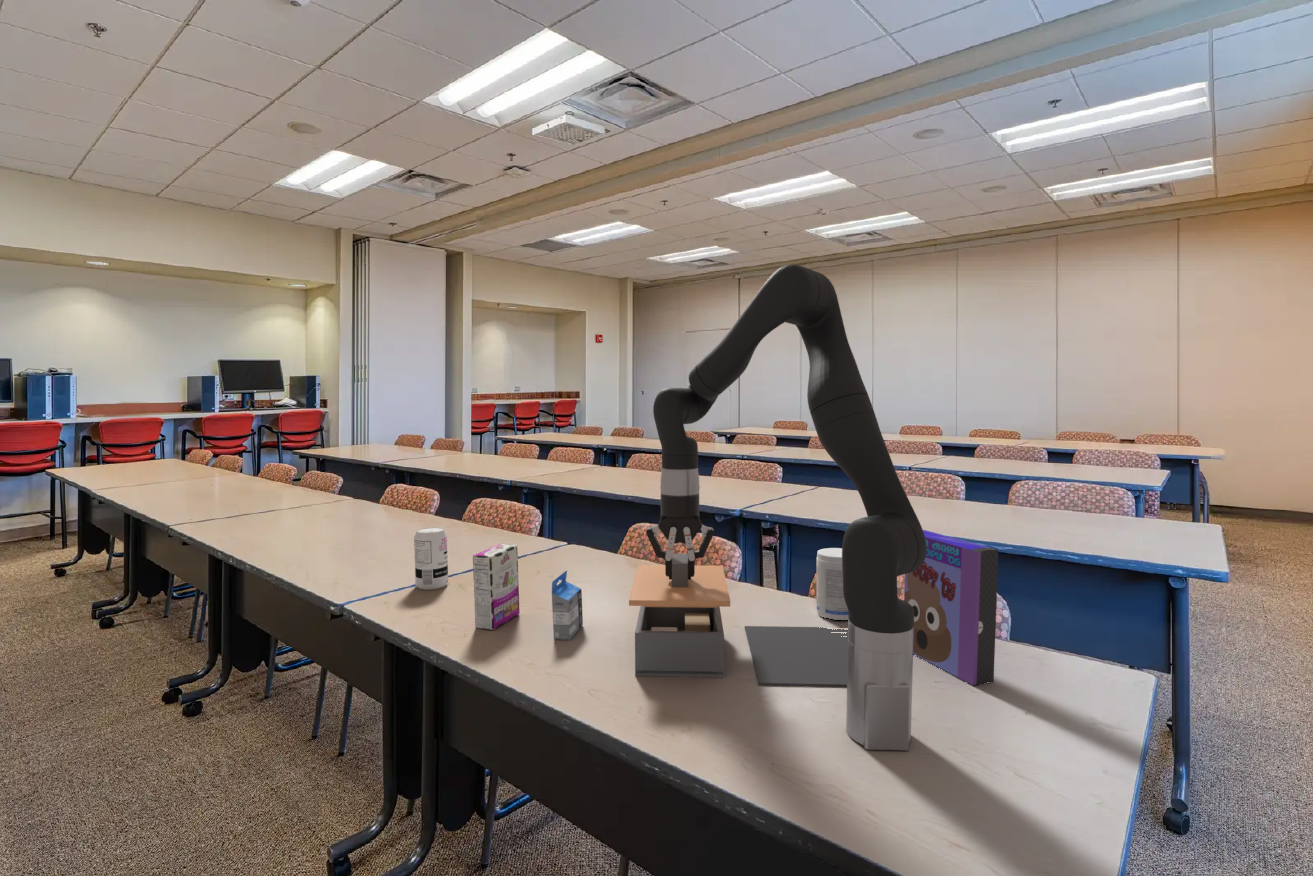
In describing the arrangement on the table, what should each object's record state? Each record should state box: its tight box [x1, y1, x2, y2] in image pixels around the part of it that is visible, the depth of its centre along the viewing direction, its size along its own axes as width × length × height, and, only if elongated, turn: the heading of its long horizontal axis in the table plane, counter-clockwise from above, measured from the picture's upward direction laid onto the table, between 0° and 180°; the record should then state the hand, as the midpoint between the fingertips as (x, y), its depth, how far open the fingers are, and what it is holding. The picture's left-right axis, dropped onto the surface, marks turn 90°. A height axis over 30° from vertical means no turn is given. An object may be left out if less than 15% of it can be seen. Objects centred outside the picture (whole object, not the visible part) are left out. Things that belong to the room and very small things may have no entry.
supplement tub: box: [816, 547, 848, 621], centre depth 151 cm, size 10×10×15 cm
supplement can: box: [413, 526, 449, 591], centre depth 174 cm, size 8×8×15 cm
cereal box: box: [903, 529, 999, 687], centre depth 123 cm, size 17×5×24 cm, turn 21°
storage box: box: [634, 606, 725, 678], centre depth 130 cm, size 16×22×8 cm
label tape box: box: [551, 570, 584, 641], centre depth 141 cm, size 9×4×12 cm, turn 168°
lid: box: [628, 553, 731, 608], centre depth 129 cm, size 18×24×6 cm
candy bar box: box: [472, 543, 520, 631], centre depth 147 cm, size 11×5×16 cm, turn 161°
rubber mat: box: [744, 625, 848, 688], centre depth 129 cm, size 28×24×1 cm
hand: (680, 578), depth 129 cm, fingers closed on lid, 3 cm apart
